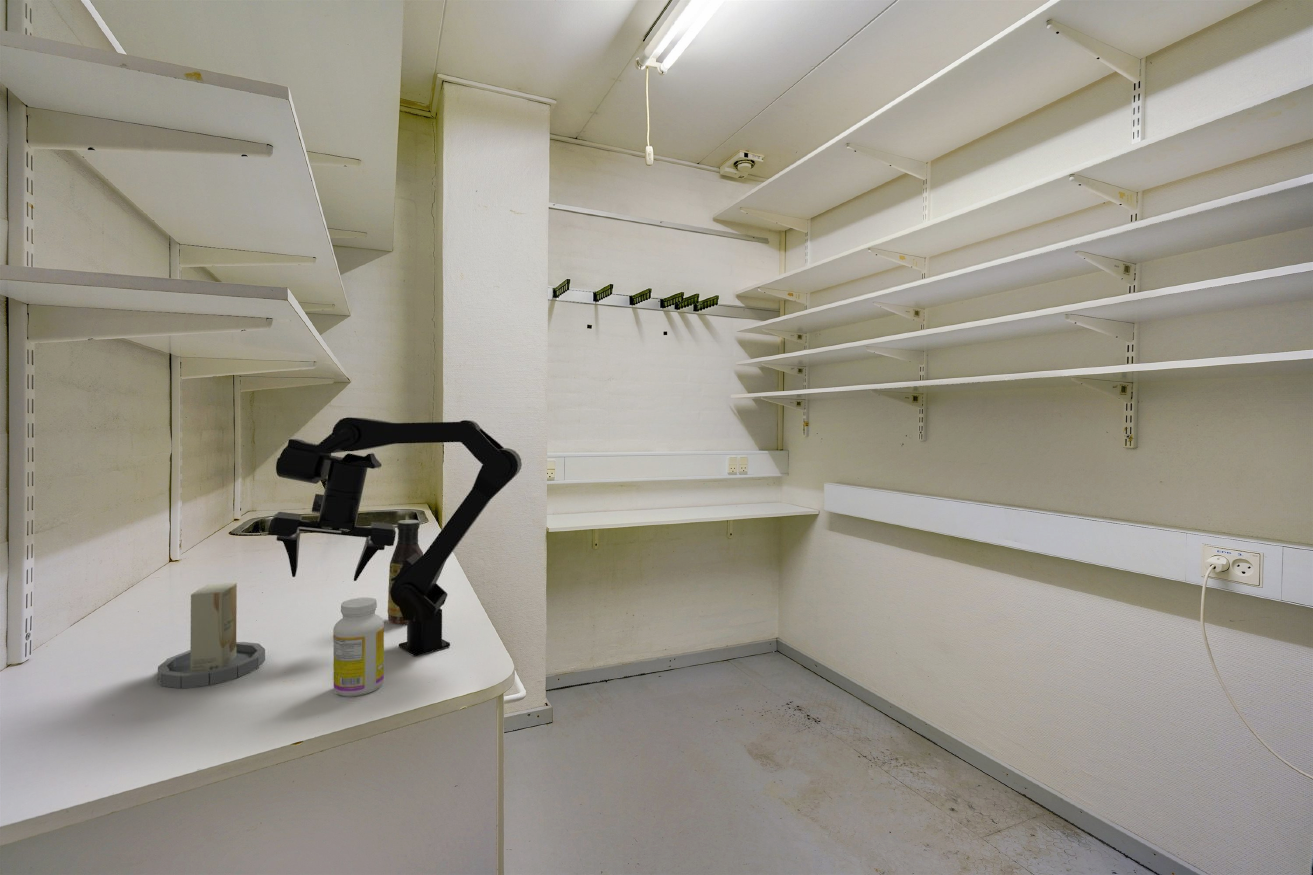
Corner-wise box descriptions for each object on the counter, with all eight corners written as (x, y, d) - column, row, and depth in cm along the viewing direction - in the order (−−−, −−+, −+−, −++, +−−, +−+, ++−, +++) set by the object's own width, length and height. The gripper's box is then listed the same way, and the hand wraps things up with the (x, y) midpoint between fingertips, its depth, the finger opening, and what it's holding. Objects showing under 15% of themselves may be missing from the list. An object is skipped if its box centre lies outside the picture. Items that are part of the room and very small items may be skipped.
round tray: (274, 668, 91) (274, 657, 91) (167, 696, 82) (167, 683, 81) (251, 646, 100) (251, 636, 100) (152, 669, 90) (152, 657, 90)
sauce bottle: (380, 623, 113) (381, 522, 112) (403, 613, 118) (404, 517, 118) (407, 627, 110) (408, 524, 110) (429, 617, 116) (430, 519, 116)
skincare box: (223, 671, 89) (223, 592, 88) (188, 674, 87) (188, 594, 87) (238, 655, 95) (238, 581, 94) (206, 658, 93) (206, 583, 93)
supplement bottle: (371, 674, 90) (372, 592, 90) (392, 686, 86) (392, 601, 85) (325, 688, 85) (325, 602, 84) (344, 703, 80) (345, 611, 80)
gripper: (400, 489, 110) (382, 569, 110) (286, 473, 101) (267, 560, 101) (403, 500, 100) (384, 587, 100) (278, 484, 92) (257, 580, 92)
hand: (325, 578), depth 99 cm, fingers open, 9 cm apart
